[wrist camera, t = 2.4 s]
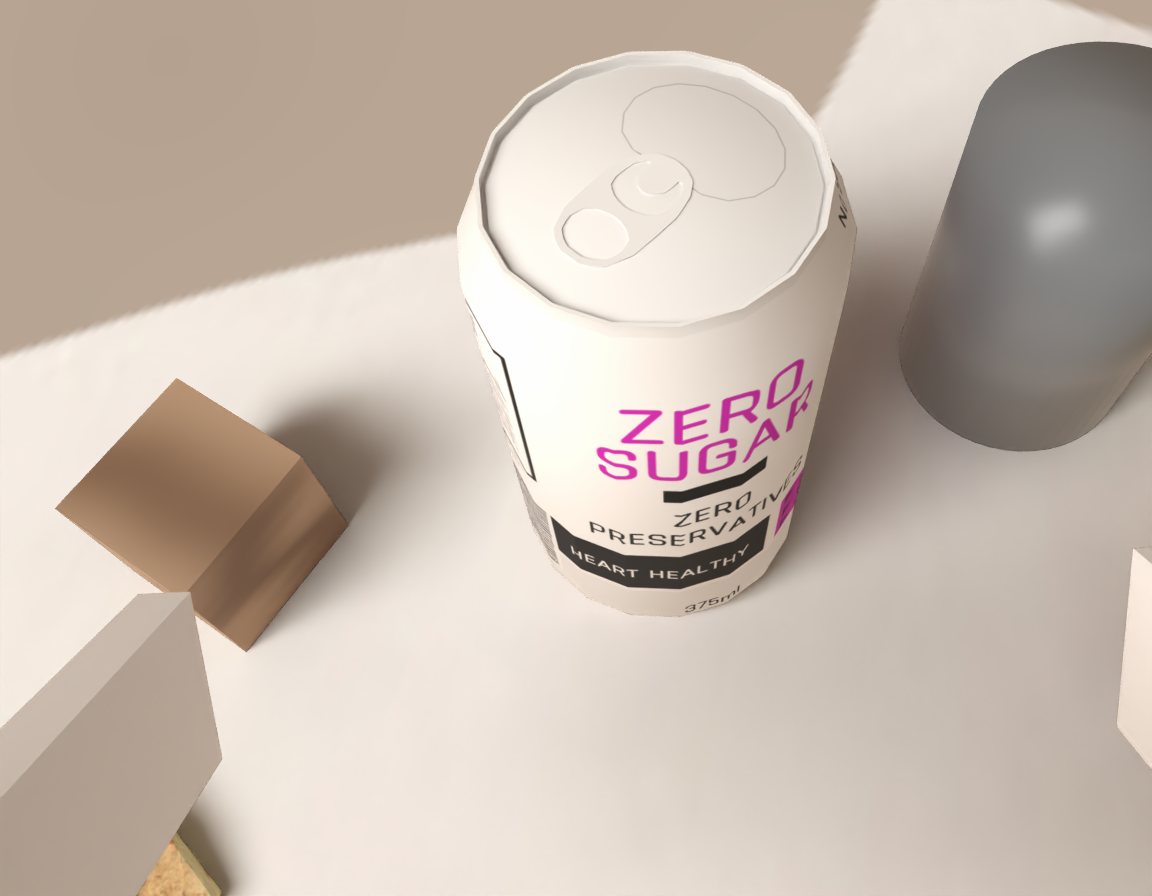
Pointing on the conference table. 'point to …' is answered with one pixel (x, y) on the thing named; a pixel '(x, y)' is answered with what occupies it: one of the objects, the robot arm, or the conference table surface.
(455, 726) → the conference table surface
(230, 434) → the walnut block
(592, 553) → the supplement can
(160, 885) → the shard
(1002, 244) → the grey domed cylinder
